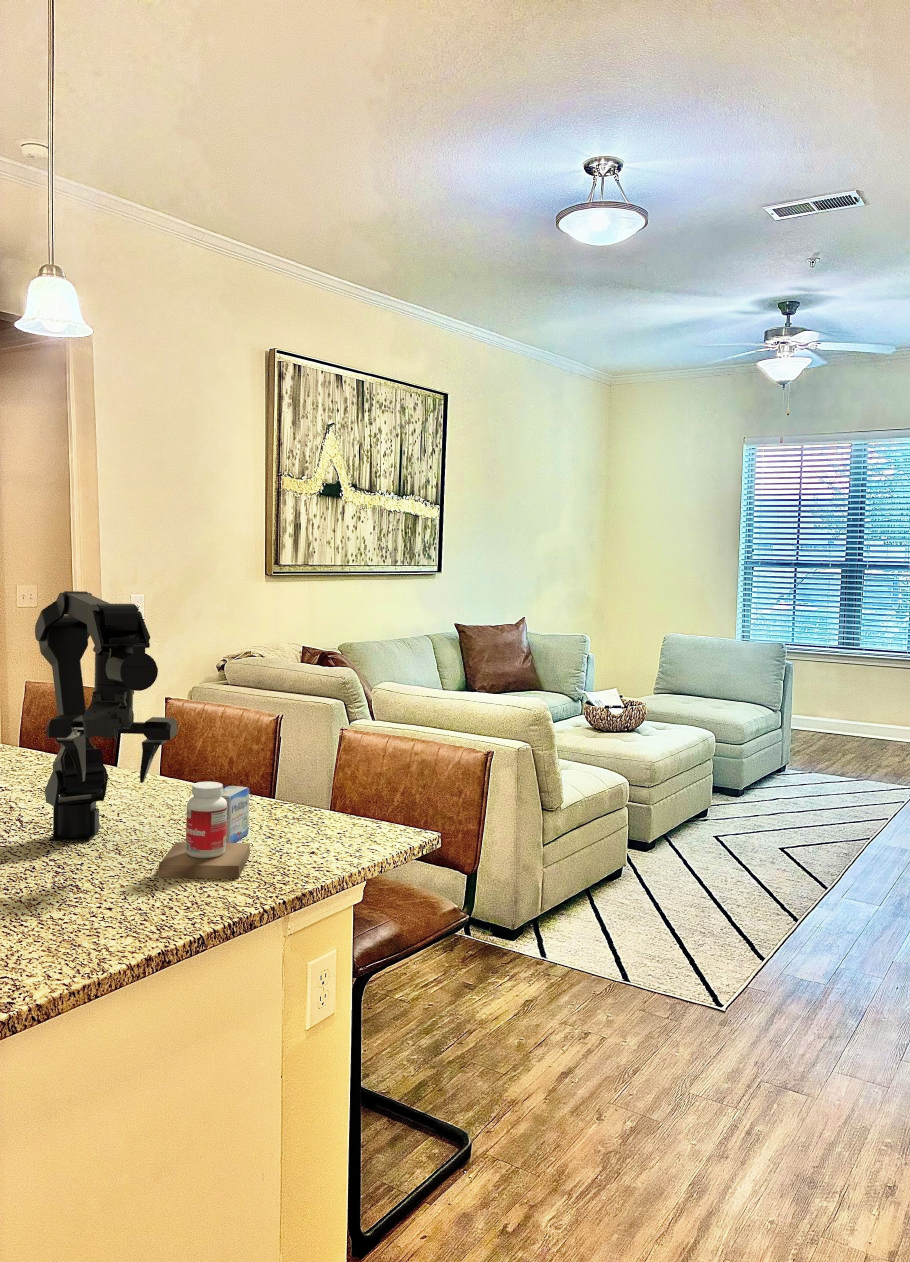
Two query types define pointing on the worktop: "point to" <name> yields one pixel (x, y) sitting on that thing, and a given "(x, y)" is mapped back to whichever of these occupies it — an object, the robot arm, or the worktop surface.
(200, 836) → the pill bottle
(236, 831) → the medicine box
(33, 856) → the worktop surface
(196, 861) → the walnut plinth
